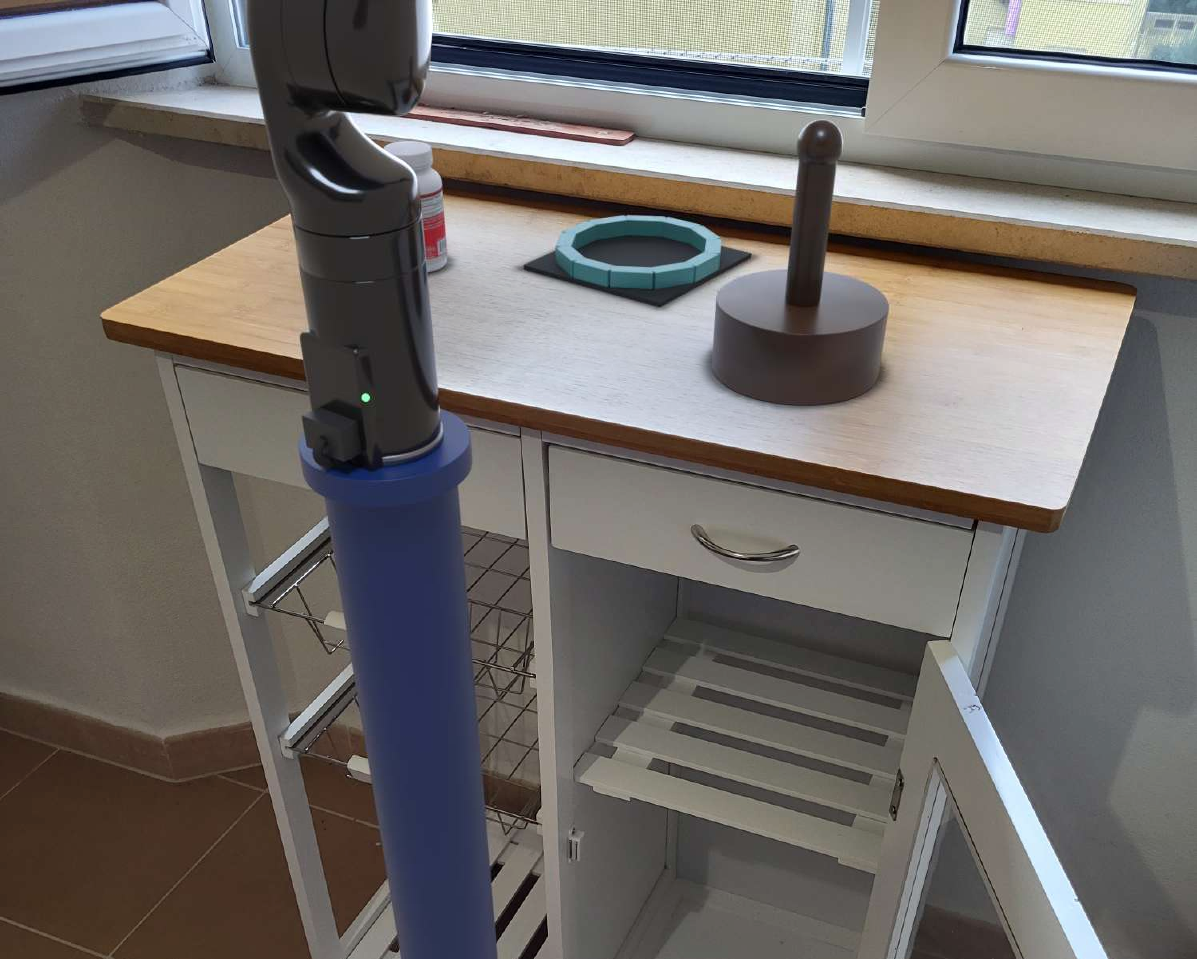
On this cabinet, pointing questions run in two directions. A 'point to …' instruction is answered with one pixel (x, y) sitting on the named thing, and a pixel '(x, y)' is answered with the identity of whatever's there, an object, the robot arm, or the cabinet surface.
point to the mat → (638, 263)
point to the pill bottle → (426, 198)
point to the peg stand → (802, 305)
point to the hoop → (638, 275)
